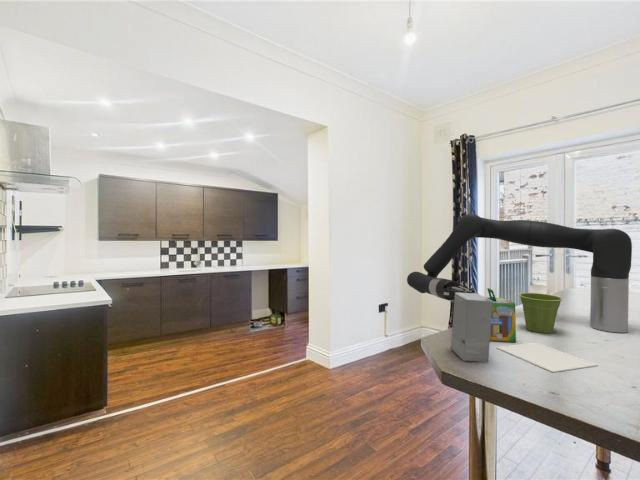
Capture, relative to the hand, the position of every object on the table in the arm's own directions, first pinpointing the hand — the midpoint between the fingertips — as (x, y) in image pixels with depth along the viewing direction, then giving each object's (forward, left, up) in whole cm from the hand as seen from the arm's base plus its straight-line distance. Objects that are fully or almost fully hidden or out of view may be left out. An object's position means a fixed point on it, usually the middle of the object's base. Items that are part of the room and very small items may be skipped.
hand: (477, 297), depth 102 cm
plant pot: (-10, +18, -11) cm, 23 cm away
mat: (+16, +16, -11) cm, 25 cm away
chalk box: (+5, +5, -11) cm, 13 cm away
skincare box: (+25, 0, -11) cm, 27 cm away
